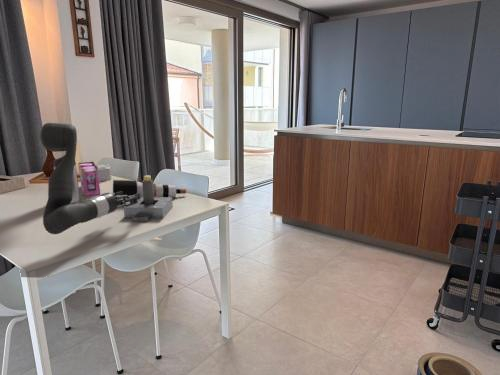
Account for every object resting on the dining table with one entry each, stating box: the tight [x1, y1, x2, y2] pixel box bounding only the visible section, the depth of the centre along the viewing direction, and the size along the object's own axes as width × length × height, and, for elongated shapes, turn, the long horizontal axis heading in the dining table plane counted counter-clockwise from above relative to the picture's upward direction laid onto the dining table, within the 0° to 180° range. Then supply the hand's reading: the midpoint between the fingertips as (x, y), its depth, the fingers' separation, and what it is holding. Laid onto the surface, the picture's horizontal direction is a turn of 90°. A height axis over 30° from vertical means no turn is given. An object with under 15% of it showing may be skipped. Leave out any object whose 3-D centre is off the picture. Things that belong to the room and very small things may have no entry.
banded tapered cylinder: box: [112, 179, 187, 200], centre depth 170 cm, size 10×34×10 cm, turn 113°
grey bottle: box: [141, 175, 154, 205], centre depth 150 cm, size 4×4×16 cm
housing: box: [123, 197, 174, 223], centre depth 151 cm, size 16×24×4 cm, turn 178°
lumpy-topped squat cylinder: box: [95, 163, 112, 182], centre depth 212 cm, size 10×13×9 cm
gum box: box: [77, 161, 101, 197], centre depth 185 cm, size 24×8×14 cm, turn 29°
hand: (130, 194), depth 139 cm, fingers open, 8 cm apart
